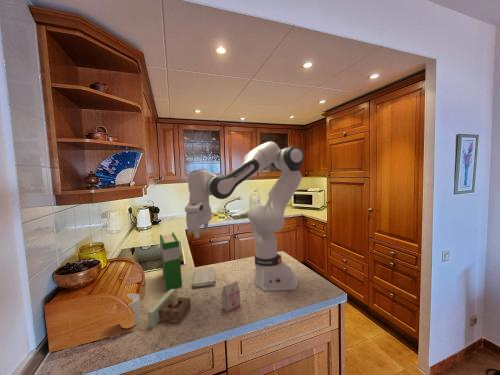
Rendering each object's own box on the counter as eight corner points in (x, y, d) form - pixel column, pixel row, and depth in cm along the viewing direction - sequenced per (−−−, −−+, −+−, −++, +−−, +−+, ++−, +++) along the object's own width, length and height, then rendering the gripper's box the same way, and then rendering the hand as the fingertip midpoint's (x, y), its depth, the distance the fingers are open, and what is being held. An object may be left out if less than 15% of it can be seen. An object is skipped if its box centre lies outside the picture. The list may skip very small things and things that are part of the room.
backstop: (176, 301, 98) (175, 289, 97) (153, 327, 82) (152, 312, 81) (172, 301, 98) (170, 288, 97) (149, 327, 82) (147, 312, 82)
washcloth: (192, 290, 107) (191, 284, 107) (193, 274, 125) (193, 268, 124) (216, 287, 109) (215, 281, 109) (214, 271, 127) (214, 266, 127)
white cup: (127, 316, 89) (125, 293, 88) (145, 316, 88) (143, 293, 88) (113, 330, 82) (111, 305, 81) (133, 331, 81) (130, 305, 80)
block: (191, 308, 92) (190, 298, 92) (180, 323, 84) (179, 312, 83) (171, 306, 94) (171, 296, 94) (159, 321, 85) (158, 310, 85)
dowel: (180, 309, 90) (178, 291, 89) (176, 314, 87) (175, 295, 86) (174, 309, 90) (172, 291, 90) (170, 314, 88) (168, 295, 87)
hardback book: (163, 276, 123) (159, 234, 121) (176, 272, 126) (173, 232, 124) (166, 291, 107) (162, 243, 105) (182, 286, 110) (178, 240, 108)
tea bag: (222, 307, 92) (221, 285, 91) (235, 301, 96) (234, 279, 95) (226, 311, 89) (225, 288, 88) (240, 305, 93) (239, 283, 92)
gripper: (202, 201, 110) (204, 227, 112) (182, 209, 90) (185, 241, 92) (214, 201, 109) (215, 227, 110) (196, 208, 89) (199, 241, 90)
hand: (201, 234), depth 101 cm, fingers open, 8 cm apart
